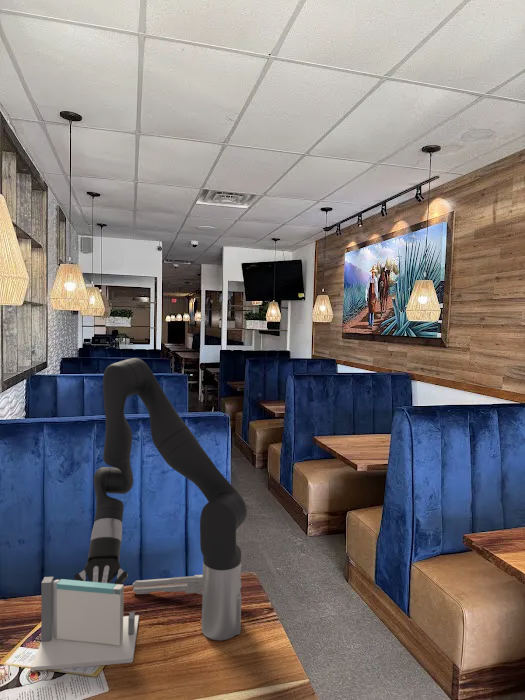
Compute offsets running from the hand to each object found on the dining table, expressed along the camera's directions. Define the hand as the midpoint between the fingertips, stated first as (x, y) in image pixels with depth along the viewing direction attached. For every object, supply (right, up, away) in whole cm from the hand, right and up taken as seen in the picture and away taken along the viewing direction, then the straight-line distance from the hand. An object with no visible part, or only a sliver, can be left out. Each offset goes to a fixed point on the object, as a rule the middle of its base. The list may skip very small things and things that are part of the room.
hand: (96, 616), depth 109 cm
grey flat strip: (+18, -6, +18) cm, 26 cm away
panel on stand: (-2, -6, 0) cm, 6 cm away
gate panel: (-2, -5, -1) cm, 5 cm away
